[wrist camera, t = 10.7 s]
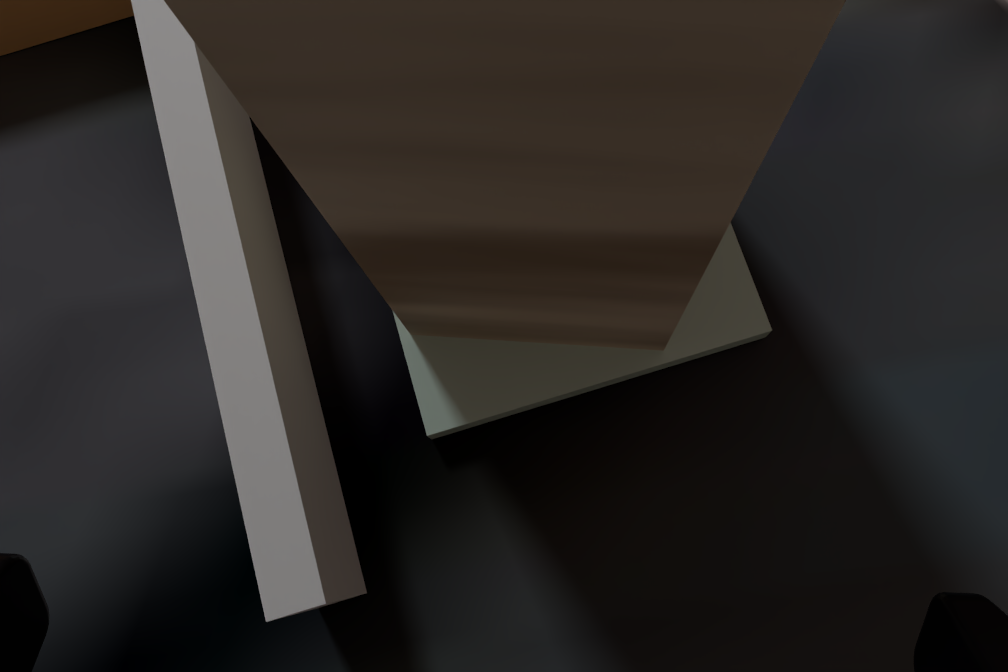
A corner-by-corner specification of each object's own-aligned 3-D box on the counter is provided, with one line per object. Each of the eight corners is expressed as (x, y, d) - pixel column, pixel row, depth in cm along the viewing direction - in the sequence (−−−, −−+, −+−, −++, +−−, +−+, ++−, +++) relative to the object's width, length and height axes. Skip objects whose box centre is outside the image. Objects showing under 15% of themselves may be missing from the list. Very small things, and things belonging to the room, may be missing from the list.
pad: (765, 337, 18) (771, 330, 17) (431, 439, 17) (427, 436, 17) (651, 41, 19) (654, 26, 19) (347, 134, 19) (341, 121, 19)
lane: (367, 593, 17) (325, 603, 14) (-129, 744, 17) (-274, 786, 14) (222, 8, 20) (164, -83, 17) (-194, 134, 20) (-322, 65, 17)
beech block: (663, 350, 17) (953, -207, 4) (410, 334, 17) (2, -218, 5) (673, 115, 18) (924, -869, 5) (435, 105, 19) (158, -833, 6)
